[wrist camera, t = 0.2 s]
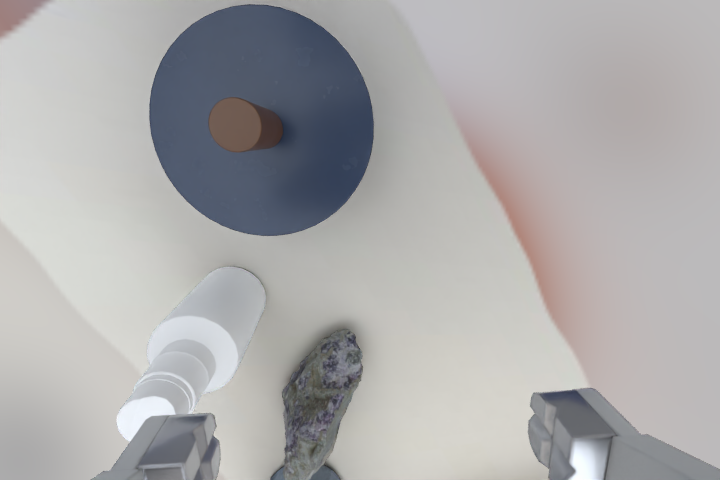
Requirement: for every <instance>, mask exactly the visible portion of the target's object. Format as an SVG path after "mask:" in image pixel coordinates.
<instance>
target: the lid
mask: <svg viewBox="0 0 720 480" xmlns="http://www.w3.org/2000/svg"><path fill="white" fill-rule="evenodd" d="M150 127H151V135H152V139H153V143H154V147H155V150H156V153H157V155H158V158H159V160H160V163H161V165H162V167H163V169H164V171H165V173H166V174H167V176H168V178H169V179H170V181H171V182H172V184H173V185H174V187H175V188H176V189H177V191H178V192H179V193H180V194H181V195H182V196H183V197H184V198H185V199H186V201H187V202H189V203H190V204H191V205H192V206H193V207H194V208H195V209H197V210H198V211H199V212H201V213H202V214H203V215H205V216H206V217H208V218H209V219H211V220H213V221H215V222H217V223H219V224H220V225H222V226H225V227H227V228H230V229H233V230H235V231H239V232H243V233H247V234H253V235H261V236H277V235H285V234H291V233H295V232H299V231H302V230H305V229H307V228H310V227H312V226H315V225H317V224H318V223H320V222H322V221H324V220H325V219H327V218H328V217H330V216H331V215H332V214H334V213H335V212H336V211H337V210H338V209H339V208H340V207H341V206H342V205H343V204H344V203H346V202H347V200H348V199H349V198H350V196H351V195H352V194H353V193H354V191H355V190H356V188H357V186H358V185H359V183H360V181H361V180H362V177H363V175H364V173H365V170H366V168H367V166H368V162H369V158H370V155H371V150H372V144H373V131H374V121H373V112H372V105H371V101H370V97H369V93H368V90H367V87H366V85H365V82H364V79H363V77H362V75H361V73H360V71H359V69H358V67H357V65H356V64H355V62H354V61H353V59H352V58H351V56H350V55H349V53H348V52H347V51H346V50H345V48H344V47H343V46H342V45H341V44H340V43H339V42H338V41H337V39H335V38H334V37H333V36H332V35H331V34H330V33H329V32H327V31H326V30H325V29H324V28H322V27H321V26H319V25H318V24H316V23H315V22H313V21H312V20H310V19H308V18H306V17H304V16H302V15H300V14H298V13H296V12H293V11H290V10H286V9H283V8H280V7H274V6H268V5H251V4H249V5H240V6H233V7H229V8H226V9H222V10H218V11H216V12H214V13H212V14H209V15H207V16H205V17H203V18H202V19H200V20H198V21H197V22H195V23H194V24H192V25H191V26H190V27H189V28H187V29H186V30H185V31H184V32H183V33H182V34H181V35H180V36H179V37H178V38H177V39H176V40H175V42H174V43H173V44H172V45H171V46H170V48H169V49H168V51H167V53H166V54H165V56H164V57H163V59H162V61H161V63H160V66H159V68H158V70H157V72H156V75H155V79H154V82H153V86H152V90H151V98H150Z"/></svg>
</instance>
